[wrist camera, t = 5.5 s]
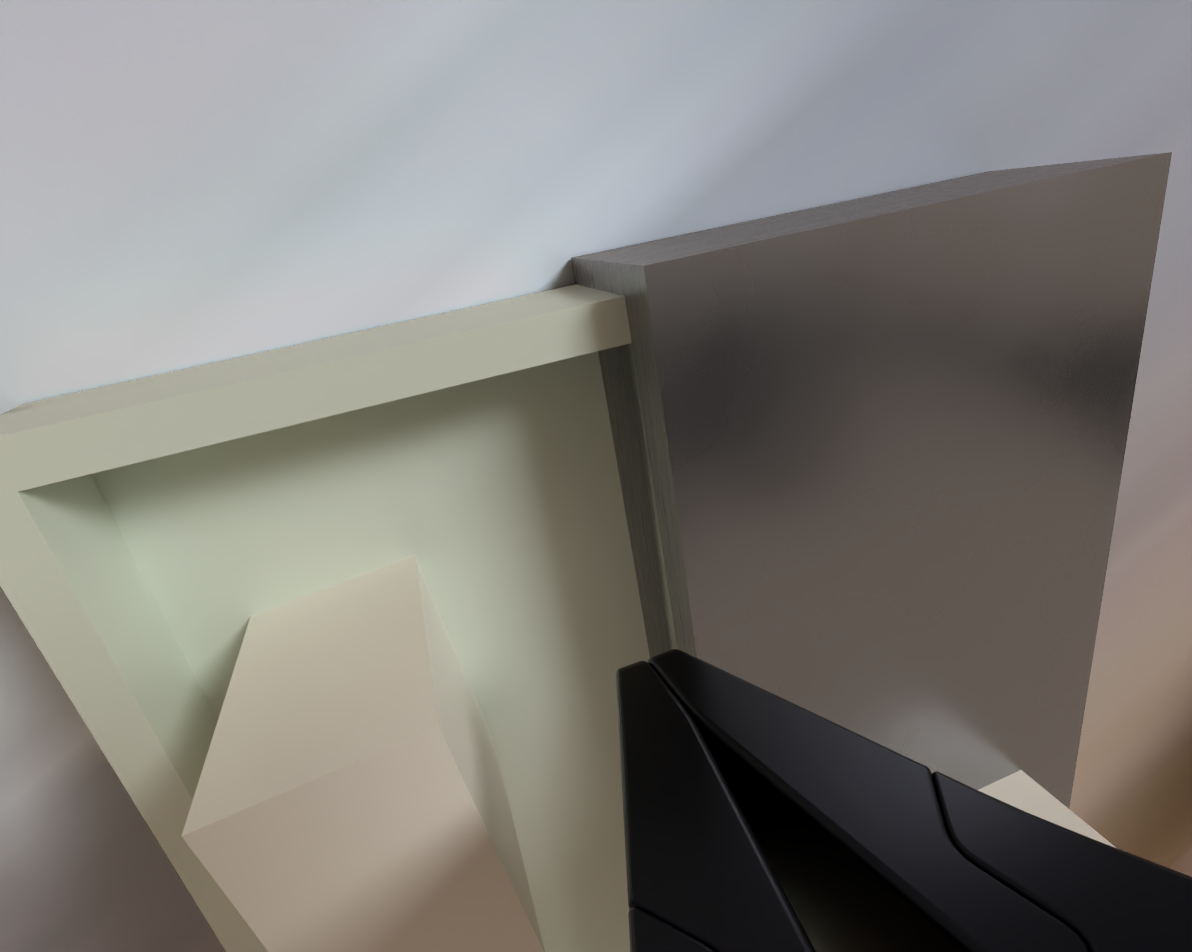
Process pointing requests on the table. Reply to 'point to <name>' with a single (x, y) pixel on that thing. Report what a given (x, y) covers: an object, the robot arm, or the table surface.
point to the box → (351, 558)
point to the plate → (893, 450)
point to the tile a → (360, 783)
